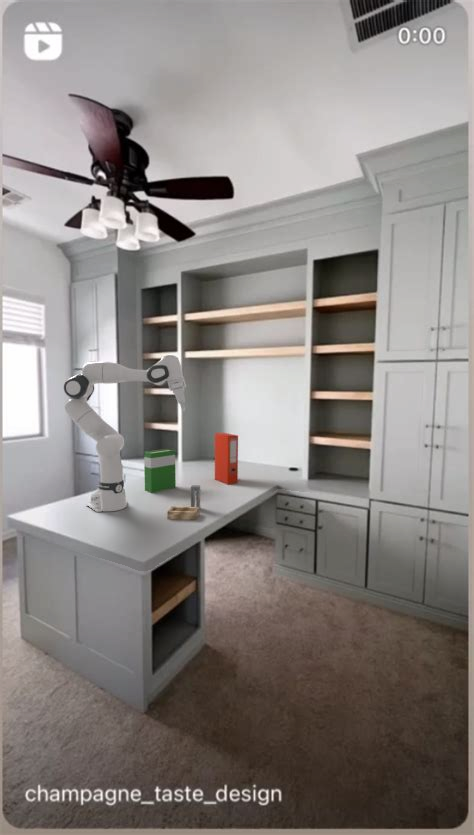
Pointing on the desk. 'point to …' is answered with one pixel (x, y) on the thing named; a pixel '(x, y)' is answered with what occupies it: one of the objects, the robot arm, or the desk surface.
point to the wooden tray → (183, 512)
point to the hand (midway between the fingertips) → (184, 411)
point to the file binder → (226, 458)
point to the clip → (197, 489)
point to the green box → (159, 470)
